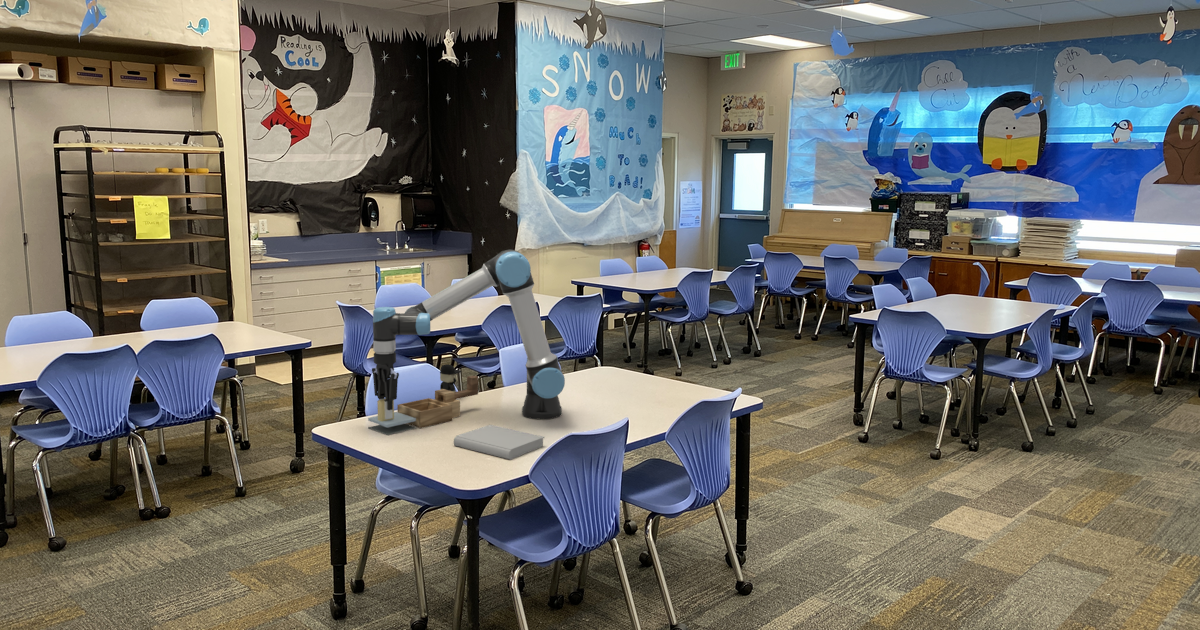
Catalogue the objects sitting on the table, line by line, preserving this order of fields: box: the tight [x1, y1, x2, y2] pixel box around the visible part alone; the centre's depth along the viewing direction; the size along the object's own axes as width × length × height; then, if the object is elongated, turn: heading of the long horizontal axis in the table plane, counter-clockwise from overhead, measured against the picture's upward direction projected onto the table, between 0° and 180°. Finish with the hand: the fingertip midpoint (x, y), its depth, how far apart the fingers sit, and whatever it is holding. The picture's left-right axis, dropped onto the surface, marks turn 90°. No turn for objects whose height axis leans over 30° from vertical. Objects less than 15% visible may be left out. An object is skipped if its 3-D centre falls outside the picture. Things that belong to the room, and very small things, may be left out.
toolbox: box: [396, 389, 461, 429], centre depth 315 cm, size 14×20×10 cm
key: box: [442, 375, 479, 400], centre depth 324 cm, size 3×15×7 cm, turn 137°
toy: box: [439, 364, 462, 392], centre depth 342 cm, size 8×9×15 cm
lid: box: [367, 399, 416, 427], centre depth 303 cm, size 12×12×8 cm
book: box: [453, 424, 545, 461], centre depth 285 cm, size 18×4×24 cm
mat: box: [368, 423, 417, 436], centre depth 304 cm, size 12×12×1 cm
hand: (386, 417), depth 301 cm, fingers closed on lid, 2 cm apart
